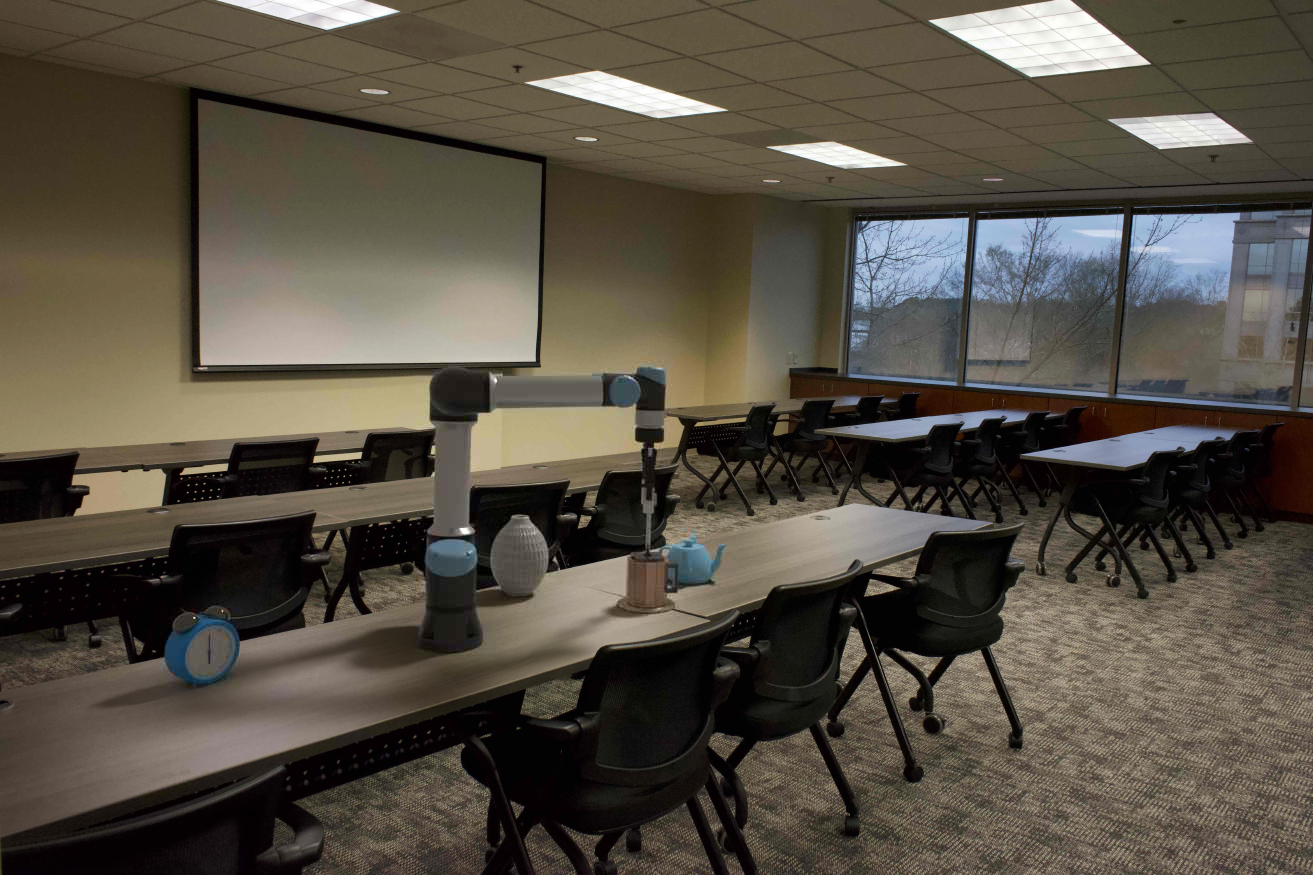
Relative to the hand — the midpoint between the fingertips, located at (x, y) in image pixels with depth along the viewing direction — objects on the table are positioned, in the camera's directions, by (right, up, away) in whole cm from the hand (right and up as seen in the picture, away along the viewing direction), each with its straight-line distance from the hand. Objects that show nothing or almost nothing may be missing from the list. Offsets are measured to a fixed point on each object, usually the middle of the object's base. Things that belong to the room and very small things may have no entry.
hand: (647, 508), depth 241 cm
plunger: (0, -17, +14) cm, 22 cm away
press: (0, -28, +15) cm, 32 cm away
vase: (-37, -26, +23) cm, 51 cm away
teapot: (+13, -26, +45) cm, 53 cm away
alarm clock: (-90, -32, -51) cm, 108 cm away
